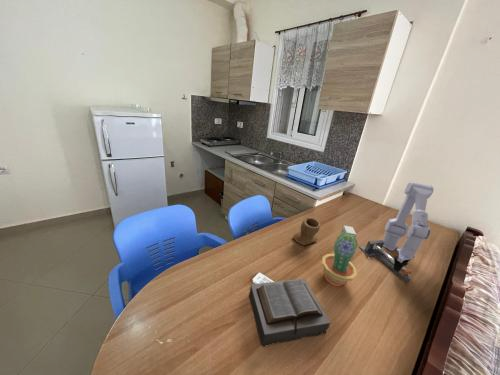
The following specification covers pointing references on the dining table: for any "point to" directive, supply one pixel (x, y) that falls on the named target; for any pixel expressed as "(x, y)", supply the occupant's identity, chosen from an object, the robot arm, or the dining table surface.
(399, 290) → the dining table surface
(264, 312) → the bible
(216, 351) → the dining table surface
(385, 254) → the metal rod with plate
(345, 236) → the potted cactus
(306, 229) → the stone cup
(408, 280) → the grey hammer
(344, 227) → the small box
